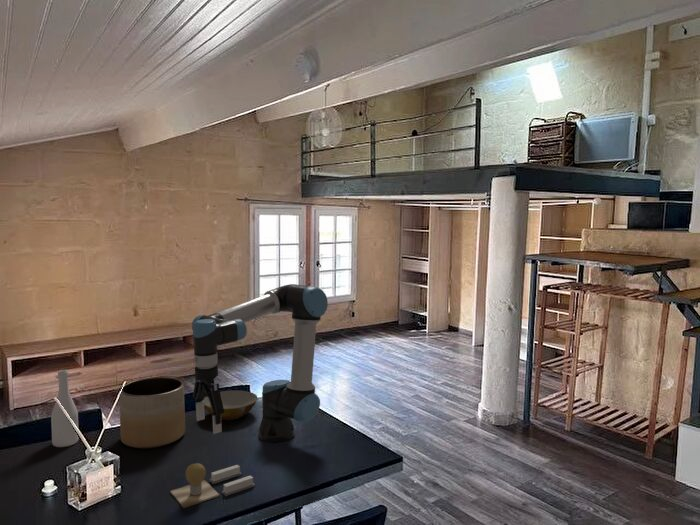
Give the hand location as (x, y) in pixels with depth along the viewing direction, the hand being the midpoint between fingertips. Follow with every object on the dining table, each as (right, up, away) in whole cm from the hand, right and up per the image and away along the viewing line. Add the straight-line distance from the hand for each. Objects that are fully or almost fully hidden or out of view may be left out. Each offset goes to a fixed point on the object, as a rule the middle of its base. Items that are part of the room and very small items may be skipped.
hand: (208, 426), depth 179 cm
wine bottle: (-67, -18, +34) cm, 77 cm away
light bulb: (-3, -21, -5) cm, 22 cm away
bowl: (-8, -16, +65) cm, 67 cm away
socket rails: (+7, -21, +3) cm, 22 cm away
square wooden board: (-3, -21, -5) cm, 22 cm away
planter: (-34, -17, +40) cm, 55 cm away
